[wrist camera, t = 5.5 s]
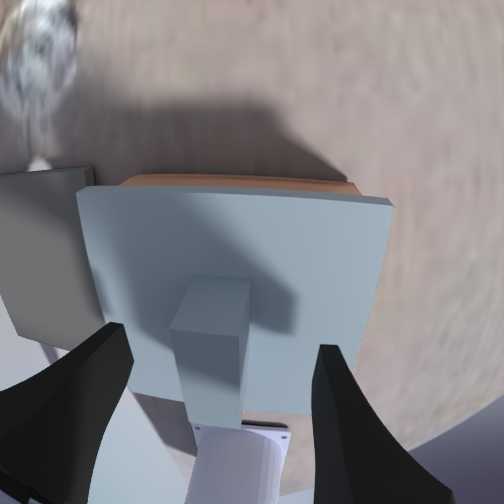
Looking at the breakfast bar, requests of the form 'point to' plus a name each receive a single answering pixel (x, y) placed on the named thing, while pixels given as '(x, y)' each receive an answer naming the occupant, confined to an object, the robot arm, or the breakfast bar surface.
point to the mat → (47, 257)
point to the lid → (233, 288)
